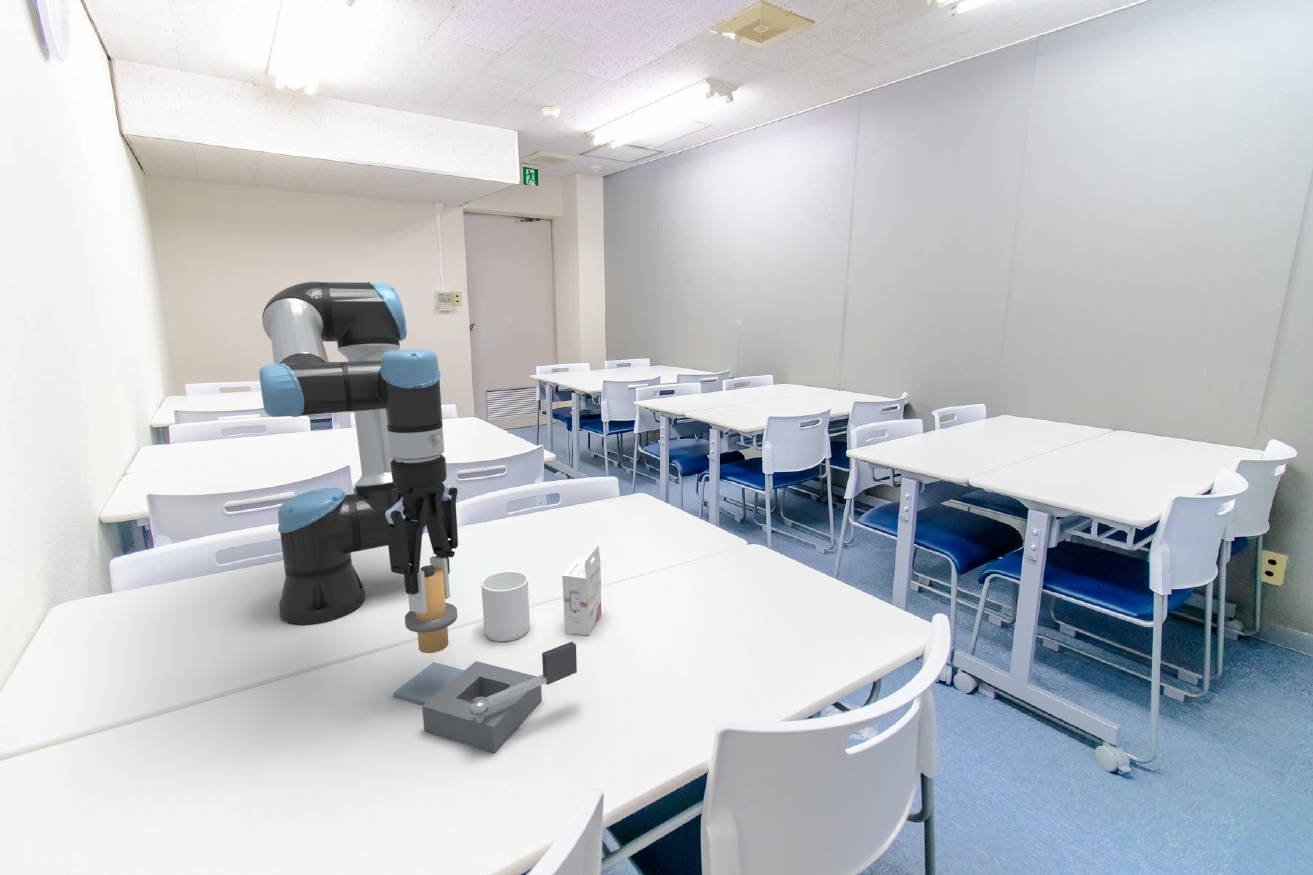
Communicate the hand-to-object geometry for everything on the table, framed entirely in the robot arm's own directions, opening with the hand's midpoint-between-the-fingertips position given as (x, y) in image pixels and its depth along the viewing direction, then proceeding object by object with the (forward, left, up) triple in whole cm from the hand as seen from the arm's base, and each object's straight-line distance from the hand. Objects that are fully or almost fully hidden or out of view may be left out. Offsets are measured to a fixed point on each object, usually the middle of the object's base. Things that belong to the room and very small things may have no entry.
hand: (430, 603), depth 93 cm
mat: (0, 0, -14) cm, 14 cm away
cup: (-1, +20, -15) cm, 25 cm away
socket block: (+11, -3, -14) cm, 19 cm away
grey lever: (+18, -2, -9) cm, 21 cm away
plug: (0, 0, -7) cm, 7 cm away
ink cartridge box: (+12, +26, -15) cm, 32 cm away
